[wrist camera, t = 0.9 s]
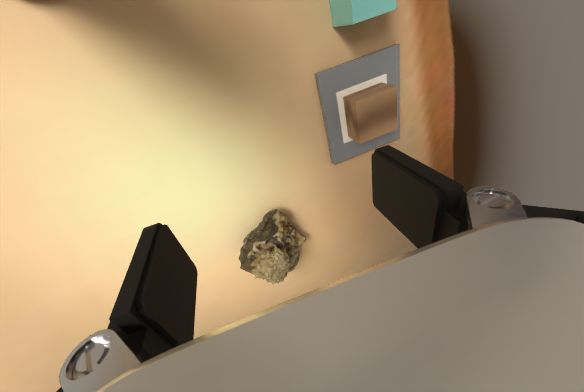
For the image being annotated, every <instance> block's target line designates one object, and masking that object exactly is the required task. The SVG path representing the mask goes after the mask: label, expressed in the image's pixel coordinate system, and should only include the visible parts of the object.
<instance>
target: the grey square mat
mask: <svg viewBox="0 0 584 392" xmlns="http://www.w3.org/2000/svg"><path fill="white" fill-rule="evenodd" d="M315 78H316V83H317V88H318V93H319V98H320V103H321V109H322V114H323V119H324V124H325V129H326V134H327V139H328V145H329V150H330V155H331V160H332V163H333V164H334V165H335V164H337V163H340V162H342V161H345V160H347V159H350V158H352V157H354V156H357V155H359V154H362V153H364V152H367V151H369V150H372V149H374V148H377V147H379V146H381V145H384V144H386V143H389V142H391V141H394V140H396V139H399V138H400V114H399V44H395V45H392V46H389V47H387V48H384V49H381V50H378V51H376V52H373V53H370V54H368V55H365V56H362V57H359V58H357V59H354V60H351V61H348V62H346V63H343V64H340V65H338V66H335V67H332V68H329V69H327V70H324V71H321V72H319V73H316V74H315ZM381 82H382V83H386V84H391V85H396V86H397V129H396V130H394V131H391V132H389V133H386V134H384V135H381V136H379V137H376V138H374V139H371V140H369V141H366V142H364V143H361V144H359V143H357V142H356V141H354V140H353V139H351V138H350V137H348V131H347V123H346V116H345V109H344V101H343V97H344V96H347V95H350V94H352V93H355V92H357V91H360V90H363V89H365V88H368V87H370V86H373V85H376V84H378V83H381Z"/></svg>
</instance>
